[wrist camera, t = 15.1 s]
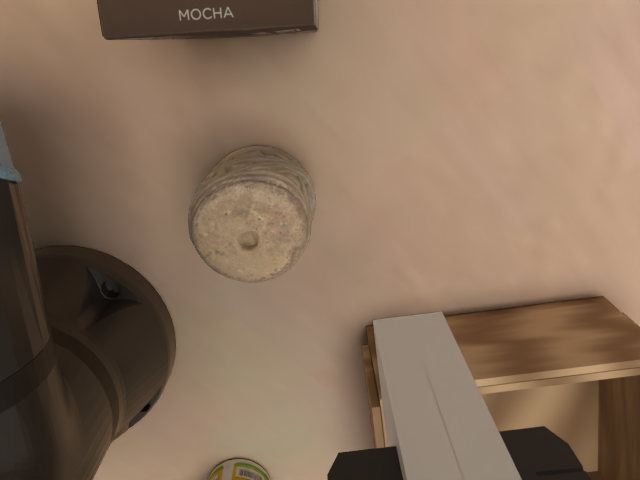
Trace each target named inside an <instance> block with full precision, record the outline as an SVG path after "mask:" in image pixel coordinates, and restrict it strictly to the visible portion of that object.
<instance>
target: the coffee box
mask: <svg viewBox="0 0 640 480" xmlns="http://www.w3.org/2000/svg"><path fill="white" fill-rule="evenodd" d="M97 4H98V11H99V18H100V25H101V31H102V36H103V37H104V38H105V39H107V40H158V39H208V38H232V37H248V36H264V35H278V34H292V33H307V32H317V31H318V0H97Z"/></svg>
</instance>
